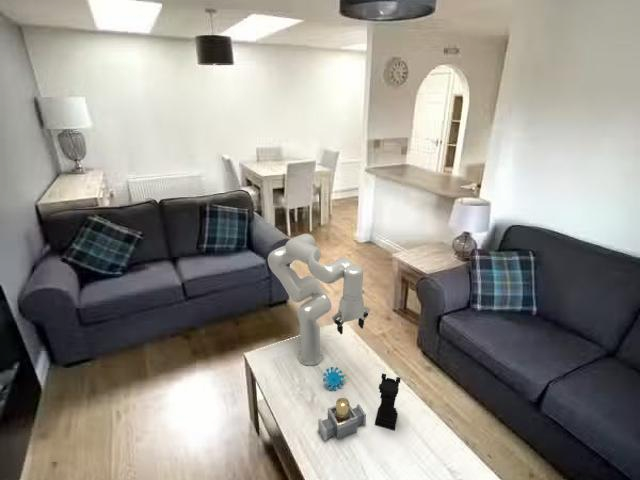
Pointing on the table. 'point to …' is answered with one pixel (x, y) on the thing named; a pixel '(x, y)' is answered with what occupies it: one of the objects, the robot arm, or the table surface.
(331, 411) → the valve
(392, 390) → the chess piece
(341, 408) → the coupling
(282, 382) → the table surface
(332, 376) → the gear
